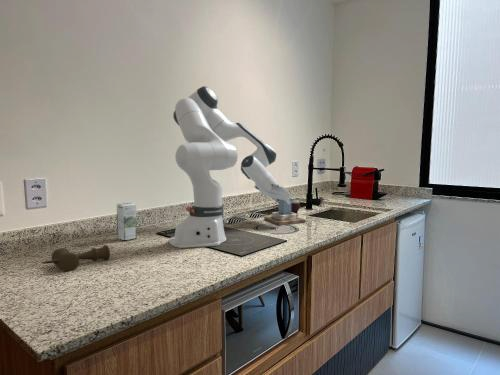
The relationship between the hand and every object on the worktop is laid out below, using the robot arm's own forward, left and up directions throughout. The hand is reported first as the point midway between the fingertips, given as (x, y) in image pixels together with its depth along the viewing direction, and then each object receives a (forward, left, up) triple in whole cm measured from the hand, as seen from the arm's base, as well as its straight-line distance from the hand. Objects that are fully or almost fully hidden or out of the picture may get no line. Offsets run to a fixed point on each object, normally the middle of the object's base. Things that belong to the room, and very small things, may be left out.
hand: (283, 202), depth 187 cm
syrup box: (-75, -2, -10) cm, 76 cm away
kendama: (-94, -30, -10) cm, 99 cm away
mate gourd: (+15, +15, -10) cm, 24 cm away
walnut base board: (+1, +1, -10) cm, 10 cm away
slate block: (+1, +1, -8) cm, 8 cm away
